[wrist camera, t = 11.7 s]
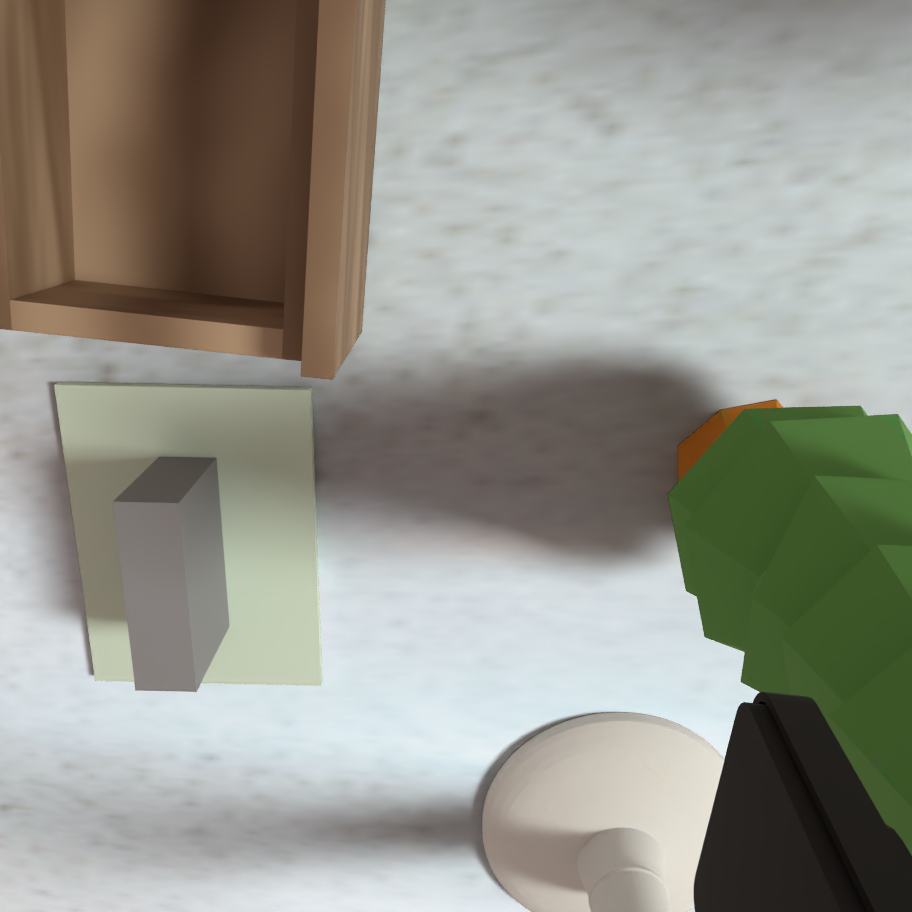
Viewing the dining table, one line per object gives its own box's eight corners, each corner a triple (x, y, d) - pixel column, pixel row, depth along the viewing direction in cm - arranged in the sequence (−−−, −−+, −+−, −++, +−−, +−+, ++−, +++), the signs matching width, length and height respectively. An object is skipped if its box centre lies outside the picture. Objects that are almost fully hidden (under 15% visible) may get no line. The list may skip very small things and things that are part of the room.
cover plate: (313, 384, 36) (285, 426, 30) (324, 673, 40) (301, 757, 35) (64, 378, 36) (-11, 420, 30) (103, 668, 41) (44, 751, 35)
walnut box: (390, -64, 30) (364, -140, 22) (361, 331, 35) (332, 379, 27) (15, -109, 30) (-139, -201, 22) (36, 296, 34) (-86, 335, 27)
